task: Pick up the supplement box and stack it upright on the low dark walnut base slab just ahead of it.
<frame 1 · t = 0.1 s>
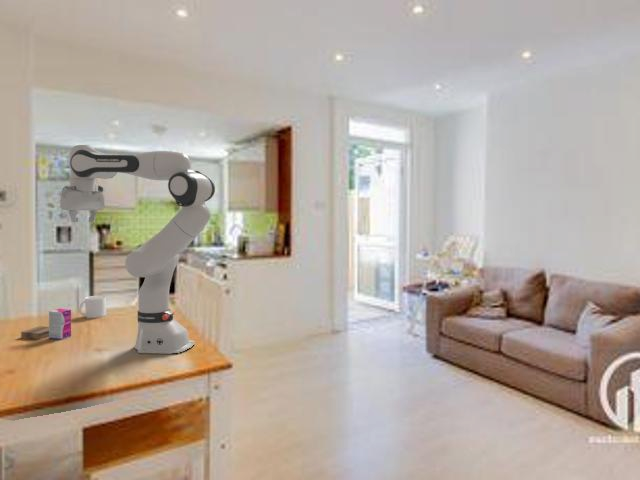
hand: (83, 221, 172), 48 cm above the table, fingers open, 8 cm apart
base slab: (39, 335, 179), on the table
supplement box: (60, 338, 177), on the table
mug: (92, 316, 212), on the table
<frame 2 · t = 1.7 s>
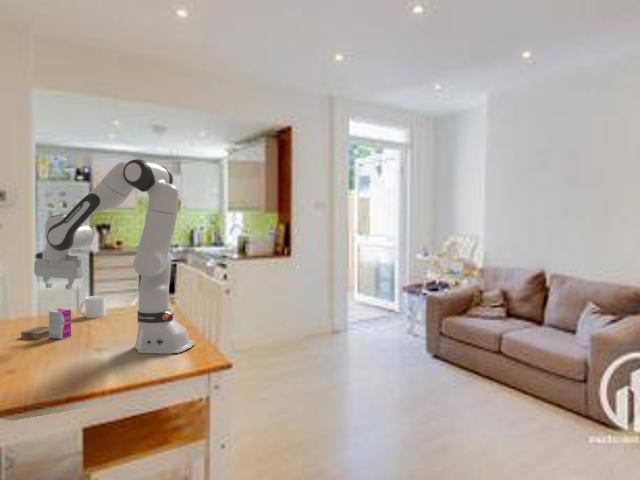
hand: (58, 288, 176), 20 cm above the table, fingers open, 8 cm apart
nothing on the table moved.
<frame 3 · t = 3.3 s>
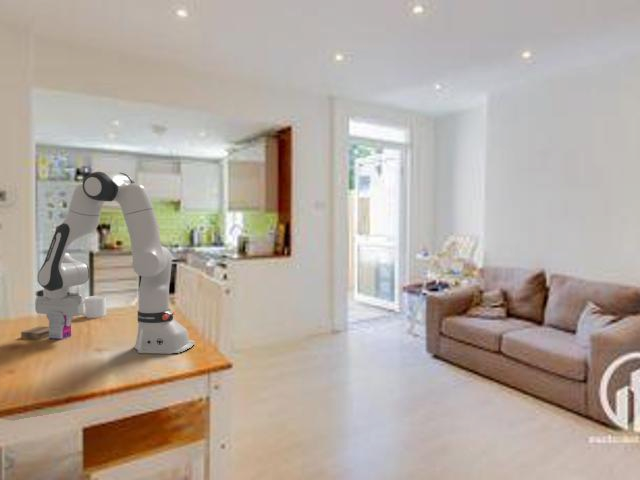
hand: (60, 325, 177), 5 cm above the table, fingers closed on supplement box, 6 cm apart
supplement box: (60, 338, 177), on the table, touching gripper
everything else where it was.
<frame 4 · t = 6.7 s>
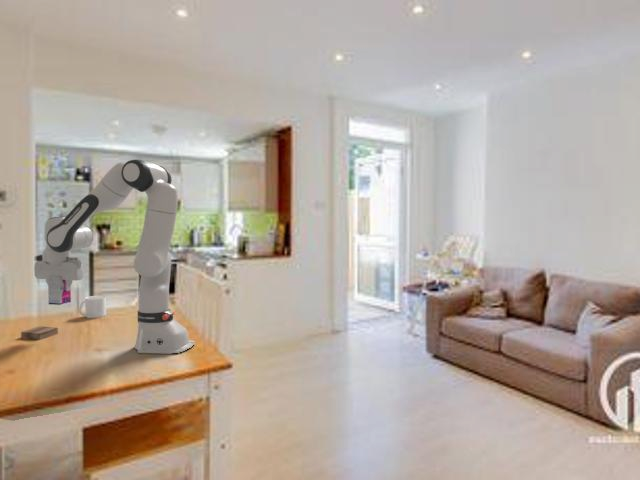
hand: (59, 290, 176), 20 cm above the table, fingers closed on supplement box, 6 cm apart
supplement box: (60, 303, 176), point 14 cm above the table, touching gripper
everything else where it was.
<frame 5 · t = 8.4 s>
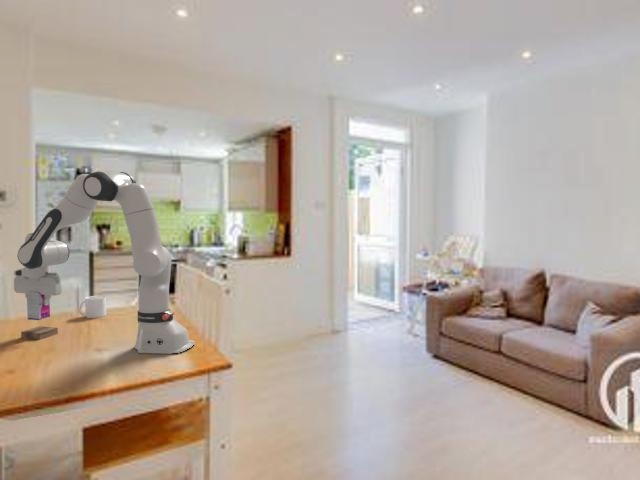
hand: (38, 304, 178), 13 cm above the table, fingers closed on supplement box, 6 cm apart
supplement box: (39, 318, 179), point 7 cm above the table, touching gripper
everything else where it was.
when the fingers open (8 cm above the table, at t = 9.8 s): supplement box stays where it is, resting on base slab.
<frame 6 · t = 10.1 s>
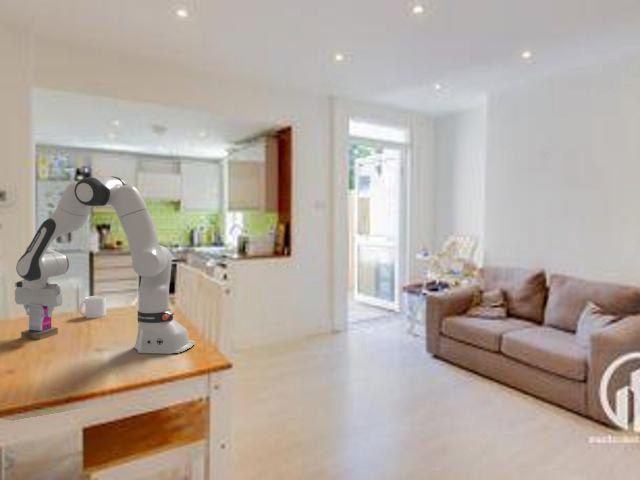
hand: (39, 315, 179), 8 cm above the table, fingers open, 8 cm apart
supplement box: (40, 330, 179), point 2 cm above the table, touching base slab
everything else where it was.
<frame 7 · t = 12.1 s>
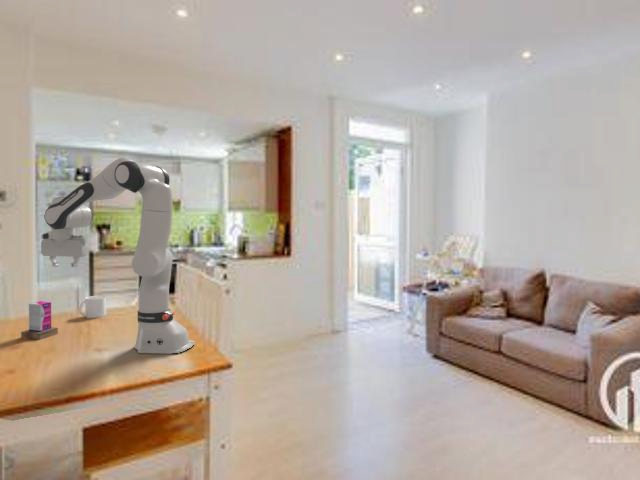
hand: (64, 266, 187), 28 cm above the table, fingers open, 8 cm apart
nothing on the table moved.
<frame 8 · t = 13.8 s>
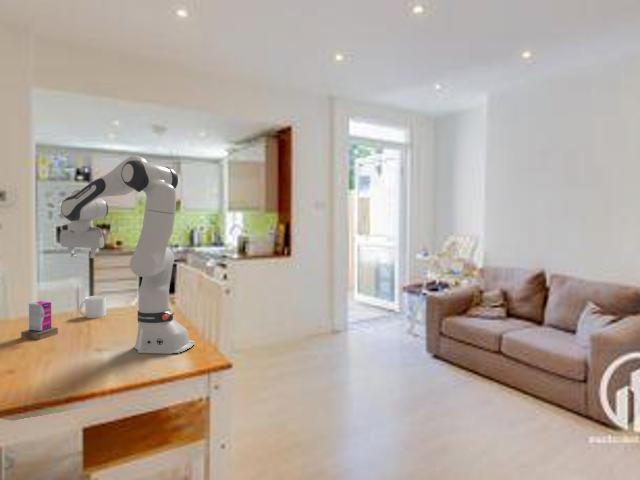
hand: (82, 257, 194), 31 cm above the table, fingers open, 8 cm apart
nothing on the table moved.
at the end: supplement box inside the target area on the base slab (0.3 cm from its centre), point 2.3 cm above the base slab's base; supplement box tilted 0°; the gripper is holding nothing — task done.
